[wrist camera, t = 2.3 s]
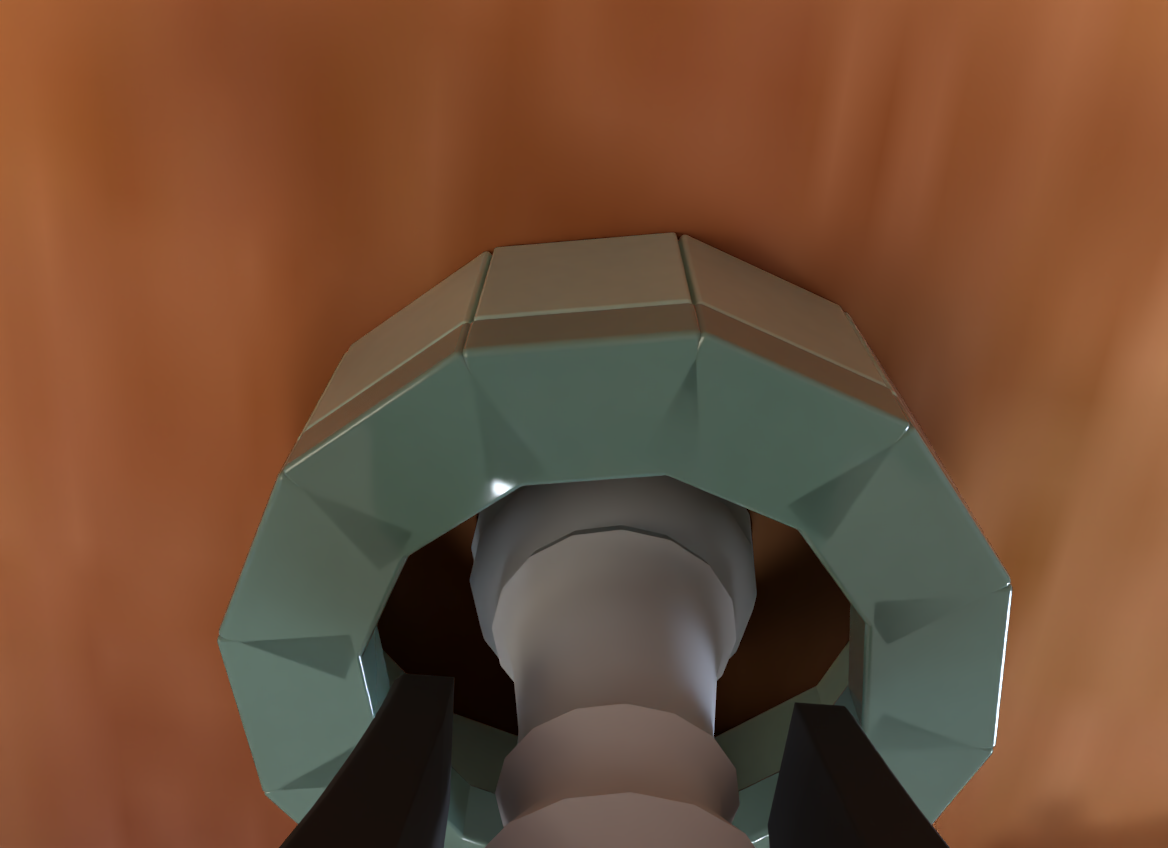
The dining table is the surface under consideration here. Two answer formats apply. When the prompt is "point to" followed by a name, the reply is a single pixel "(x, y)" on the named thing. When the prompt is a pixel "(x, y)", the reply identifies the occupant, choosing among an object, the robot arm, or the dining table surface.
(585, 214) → the dining table surface
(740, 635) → the rook chess piece
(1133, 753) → the dining table surface
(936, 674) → the ring
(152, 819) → the dining table surface
